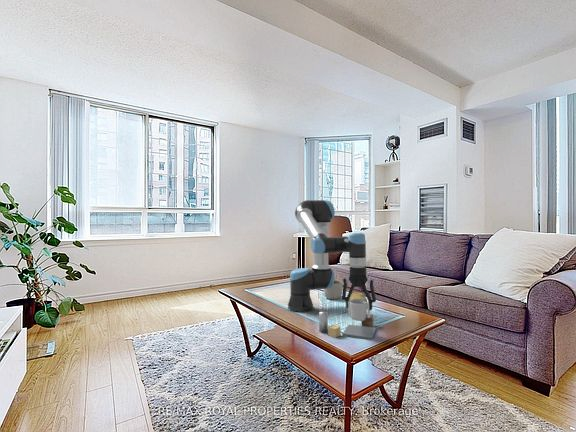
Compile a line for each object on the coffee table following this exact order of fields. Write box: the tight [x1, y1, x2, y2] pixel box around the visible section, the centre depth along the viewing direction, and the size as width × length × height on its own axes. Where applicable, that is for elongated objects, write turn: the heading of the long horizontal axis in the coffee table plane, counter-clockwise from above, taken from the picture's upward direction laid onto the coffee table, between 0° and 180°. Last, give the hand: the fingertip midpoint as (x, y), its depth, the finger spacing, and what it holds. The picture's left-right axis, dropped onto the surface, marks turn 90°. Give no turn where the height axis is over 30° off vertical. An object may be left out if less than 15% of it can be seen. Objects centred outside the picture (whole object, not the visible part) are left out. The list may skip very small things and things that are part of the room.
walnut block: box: [361, 313, 375, 327], centre depth 148 cm, size 5×5×5 cm
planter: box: [323, 279, 343, 300], centre depth 203 cm, size 12×12×11 cm
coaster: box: [341, 324, 377, 341], centre depth 138 cm, size 13×13×1 cm
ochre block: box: [327, 324, 342, 339], centre depth 136 cm, size 4×4×4 cm
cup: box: [350, 300, 368, 322], centre depth 139 cm, size 11×8×8 cm
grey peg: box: [318, 310, 329, 334], centre depth 141 cm, size 4×4×9 cm
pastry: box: [349, 291, 368, 303], centre depth 184 cm, size 14×12×8 cm
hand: (359, 316), depth 138 cm, fingers closed on cup, 8 cm apart
